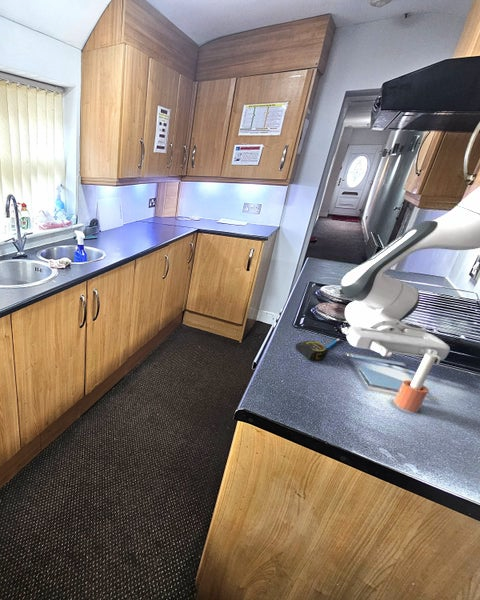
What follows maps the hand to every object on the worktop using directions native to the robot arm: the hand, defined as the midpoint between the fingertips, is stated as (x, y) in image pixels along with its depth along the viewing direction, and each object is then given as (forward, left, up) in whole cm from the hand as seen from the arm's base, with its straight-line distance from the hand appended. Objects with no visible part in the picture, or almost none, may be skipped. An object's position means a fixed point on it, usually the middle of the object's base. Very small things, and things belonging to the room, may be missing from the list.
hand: (411, 357), depth 79 cm
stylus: (0, +6, -10) cm, 12 cm away
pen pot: (0, +6, -10) cm, 12 cm away
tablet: (-1, -8, -10) cm, 13 cm away
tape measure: (+17, -11, -11) cm, 23 cm away
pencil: (+10, -19, -11) cm, 24 cm away
